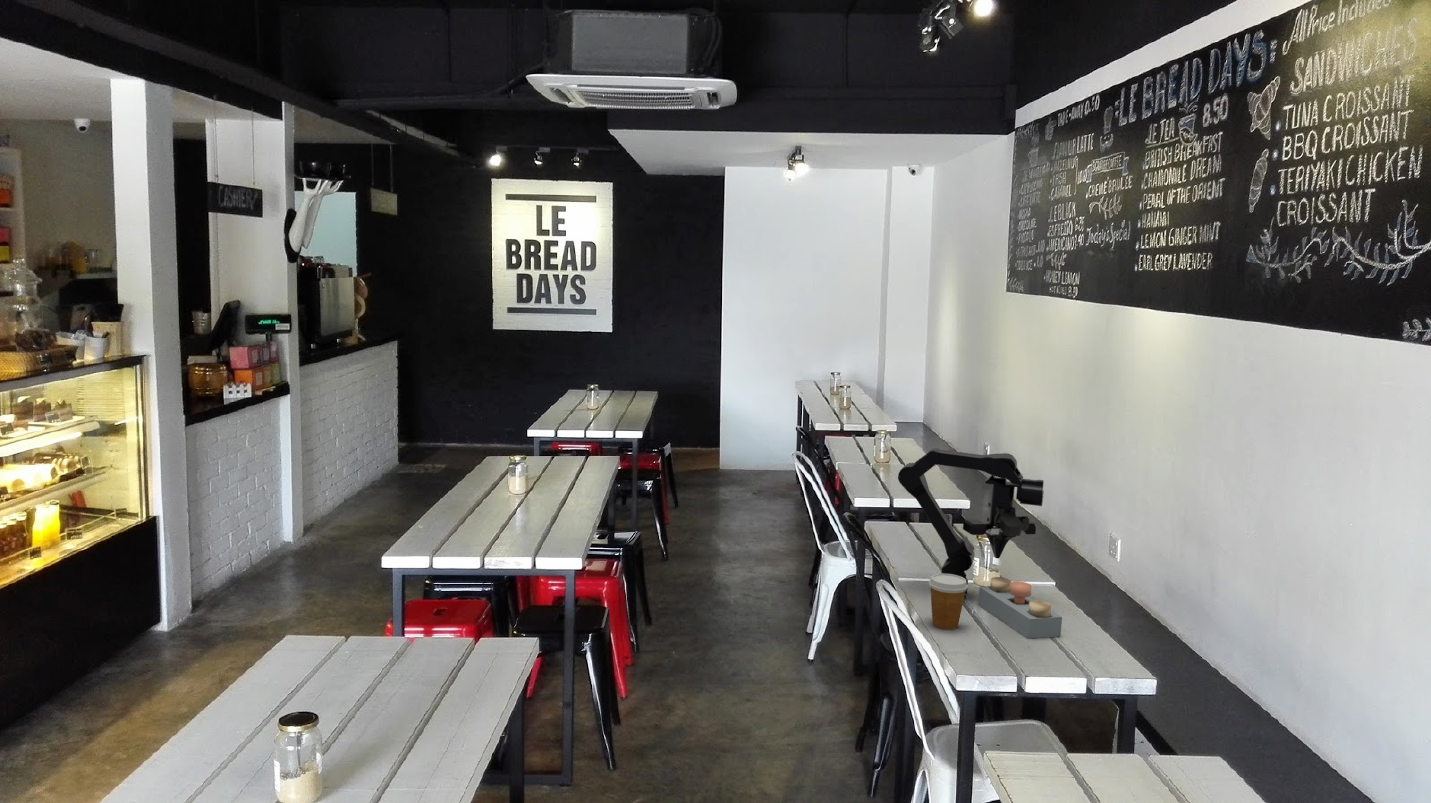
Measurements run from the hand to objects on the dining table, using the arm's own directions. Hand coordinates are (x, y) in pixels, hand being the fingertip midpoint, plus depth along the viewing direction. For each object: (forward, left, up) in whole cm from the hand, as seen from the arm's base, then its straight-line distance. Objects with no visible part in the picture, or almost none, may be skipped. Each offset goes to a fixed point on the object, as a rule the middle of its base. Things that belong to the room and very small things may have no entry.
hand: (996, 557), depth 273 cm
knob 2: (+6, -23, -12) cm, 27 cm away
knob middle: (+3, -14, -10) cm, 18 cm away
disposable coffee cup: (-16, -21, -12) cm, 29 cm away
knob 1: (0, -6, -12) cm, 13 cm away
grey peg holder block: (+3, -14, -12) cm, 19 cm away
